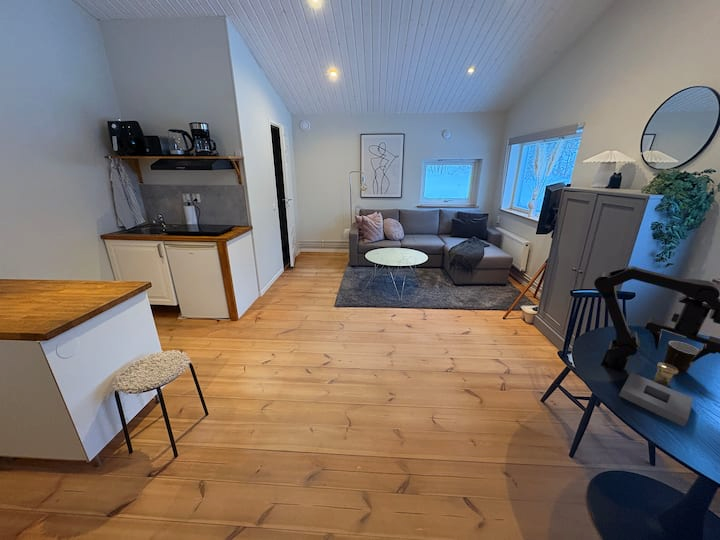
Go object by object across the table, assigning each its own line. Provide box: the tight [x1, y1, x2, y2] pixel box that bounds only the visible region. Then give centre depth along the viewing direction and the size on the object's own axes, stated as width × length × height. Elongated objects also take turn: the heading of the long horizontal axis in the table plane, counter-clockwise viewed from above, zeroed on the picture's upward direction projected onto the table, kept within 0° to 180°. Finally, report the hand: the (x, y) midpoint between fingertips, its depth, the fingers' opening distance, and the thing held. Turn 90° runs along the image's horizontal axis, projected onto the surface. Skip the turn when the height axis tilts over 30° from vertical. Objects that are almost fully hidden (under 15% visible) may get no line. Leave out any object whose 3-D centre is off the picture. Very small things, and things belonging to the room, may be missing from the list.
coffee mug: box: [662, 340, 700, 375], centre depth 114 cm, size 12×9×10 cm
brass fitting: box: [652, 362, 679, 387], centre depth 107 cm, size 5×5×7 cm
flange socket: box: [618, 372, 694, 428], centre depth 100 cm, size 16×14×3 cm
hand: (673, 354), depth 104 cm, fingers open, 9 cm apart
